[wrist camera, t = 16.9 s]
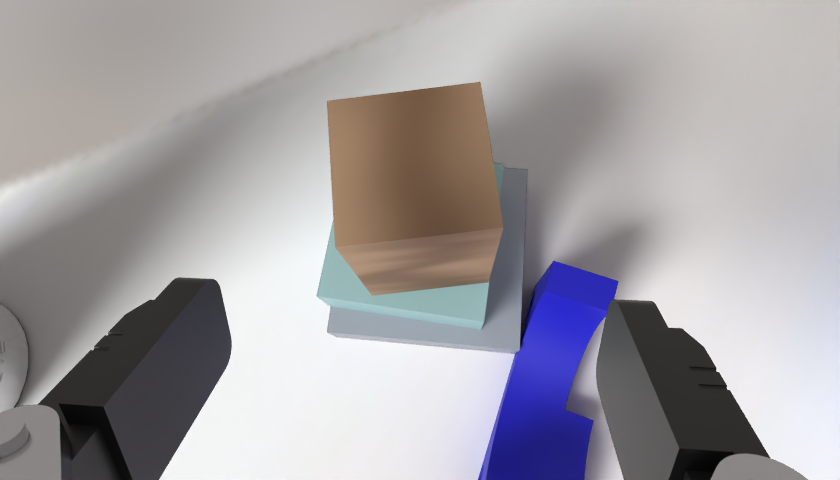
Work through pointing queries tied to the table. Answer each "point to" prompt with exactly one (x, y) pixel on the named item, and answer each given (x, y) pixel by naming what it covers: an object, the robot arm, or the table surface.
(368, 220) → the walnut block
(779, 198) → the table surface
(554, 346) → the cable clip
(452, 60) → the table surface
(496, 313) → the slate base slab
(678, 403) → the robot arm
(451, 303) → the teal top slab
